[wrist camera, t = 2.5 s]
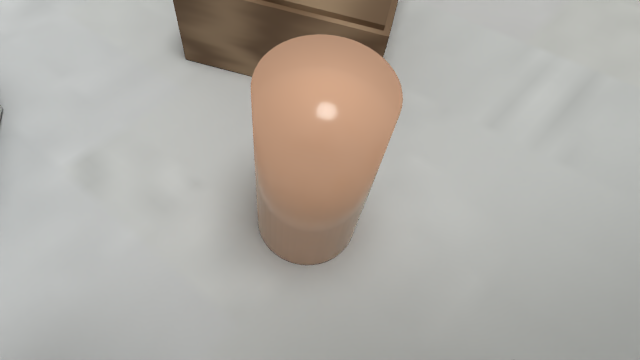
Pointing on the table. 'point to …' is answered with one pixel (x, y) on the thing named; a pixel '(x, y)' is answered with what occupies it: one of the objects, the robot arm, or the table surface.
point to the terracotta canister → (318, 141)
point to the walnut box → (274, 27)
